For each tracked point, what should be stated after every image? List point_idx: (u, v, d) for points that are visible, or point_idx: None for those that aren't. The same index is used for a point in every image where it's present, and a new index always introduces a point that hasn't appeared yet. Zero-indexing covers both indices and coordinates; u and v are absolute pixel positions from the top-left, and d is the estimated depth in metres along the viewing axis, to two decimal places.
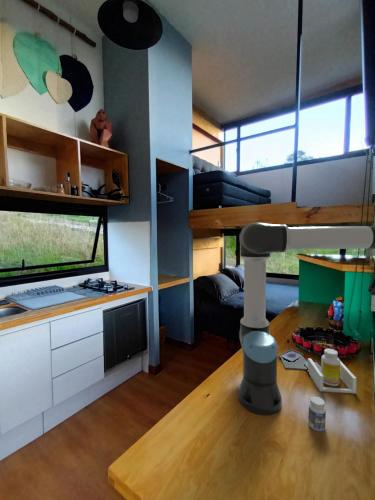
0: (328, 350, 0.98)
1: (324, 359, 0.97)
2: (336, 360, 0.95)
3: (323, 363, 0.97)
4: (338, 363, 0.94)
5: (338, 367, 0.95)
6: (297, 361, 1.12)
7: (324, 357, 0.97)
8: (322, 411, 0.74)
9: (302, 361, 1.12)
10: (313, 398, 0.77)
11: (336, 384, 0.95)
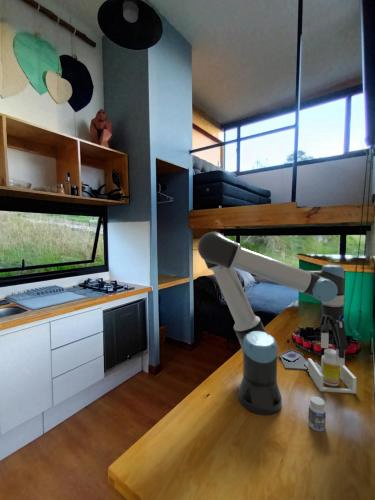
0: (328, 350, 0.98)
1: (324, 359, 0.97)
2: None
3: (323, 363, 0.97)
4: None
5: (338, 367, 0.95)
6: (297, 361, 1.12)
7: (324, 357, 0.97)
8: (322, 411, 0.74)
9: (302, 361, 1.12)
10: (313, 398, 0.77)
11: (336, 384, 0.95)
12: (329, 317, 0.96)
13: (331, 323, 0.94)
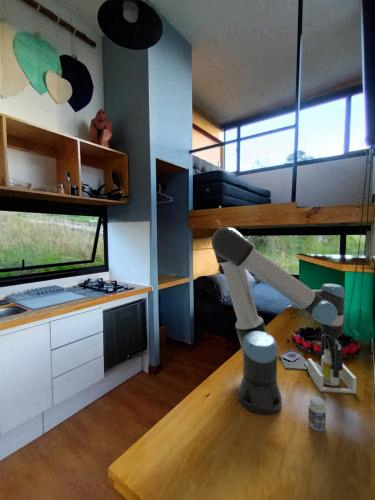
0: (328, 350, 0.98)
1: (324, 359, 0.97)
2: None
3: (323, 363, 0.97)
4: None
5: None
6: (297, 361, 1.12)
7: (324, 357, 0.97)
8: (322, 411, 0.74)
9: (302, 361, 1.12)
10: (313, 398, 0.77)
11: None
12: (328, 336, 0.97)
13: (330, 343, 0.95)
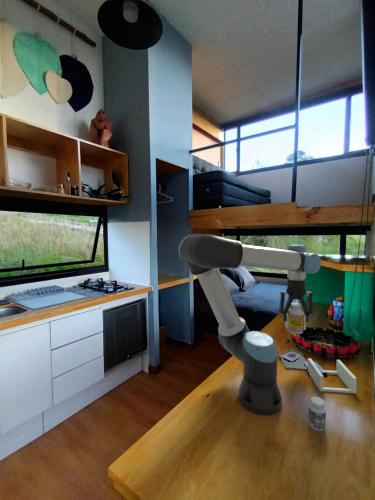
0: (297, 303, 1.10)
1: None
2: (291, 310, 1.09)
3: None
4: (290, 312, 1.09)
5: (290, 316, 1.09)
6: (297, 361, 1.12)
7: None
8: (322, 411, 0.74)
9: (302, 361, 1.12)
10: (313, 398, 0.77)
11: (288, 330, 1.10)
12: None
13: None
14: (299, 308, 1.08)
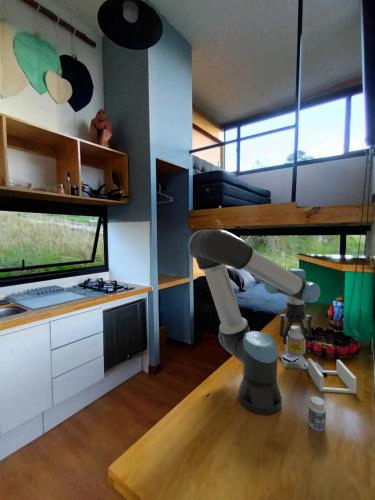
0: (297, 327, 1.11)
1: None
2: (290, 333, 1.10)
3: None
4: (290, 336, 1.10)
5: (290, 339, 1.10)
6: (297, 361, 1.12)
7: None
8: (322, 411, 0.74)
9: (302, 361, 1.12)
10: (313, 398, 0.77)
11: (288, 353, 1.11)
12: None
13: None
14: (298, 332, 1.09)
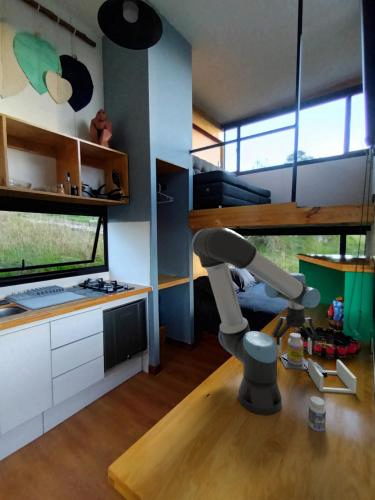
0: (297, 334, 1.12)
1: None
2: (290, 341, 1.11)
3: None
4: (290, 343, 1.10)
5: (290, 347, 1.10)
6: None
7: None
8: (322, 411, 0.74)
9: None
10: (313, 398, 0.77)
11: (288, 360, 1.12)
12: None
13: None
14: (298, 339, 1.09)
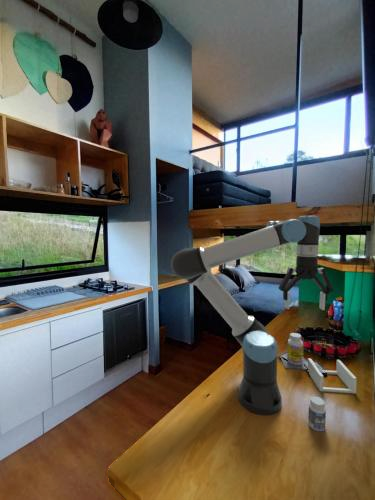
0: (297, 334, 1.12)
1: None
2: (291, 341, 1.11)
3: None
4: (290, 343, 1.10)
5: (290, 347, 1.10)
6: None
7: None
8: (322, 411, 0.74)
9: None
10: (313, 398, 0.77)
11: (288, 360, 1.12)
12: None
13: None
14: (299, 339, 1.09)
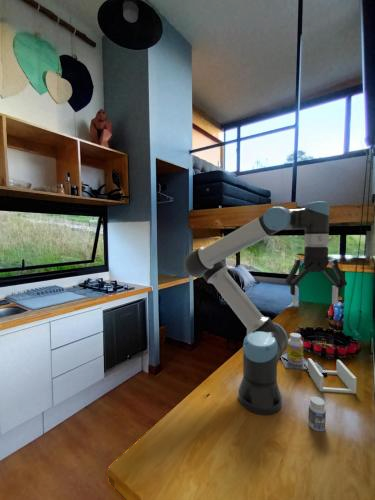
0: (297, 334, 1.12)
1: None
2: (291, 341, 1.11)
3: None
4: (290, 343, 1.10)
5: (290, 347, 1.10)
6: None
7: None
8: (322, 411, 0.74)
9: None
10: (313, 398, 0.77)
11: (288, 360, 1.12)
12: None
13: None
14: (299, 339, 1.09)
